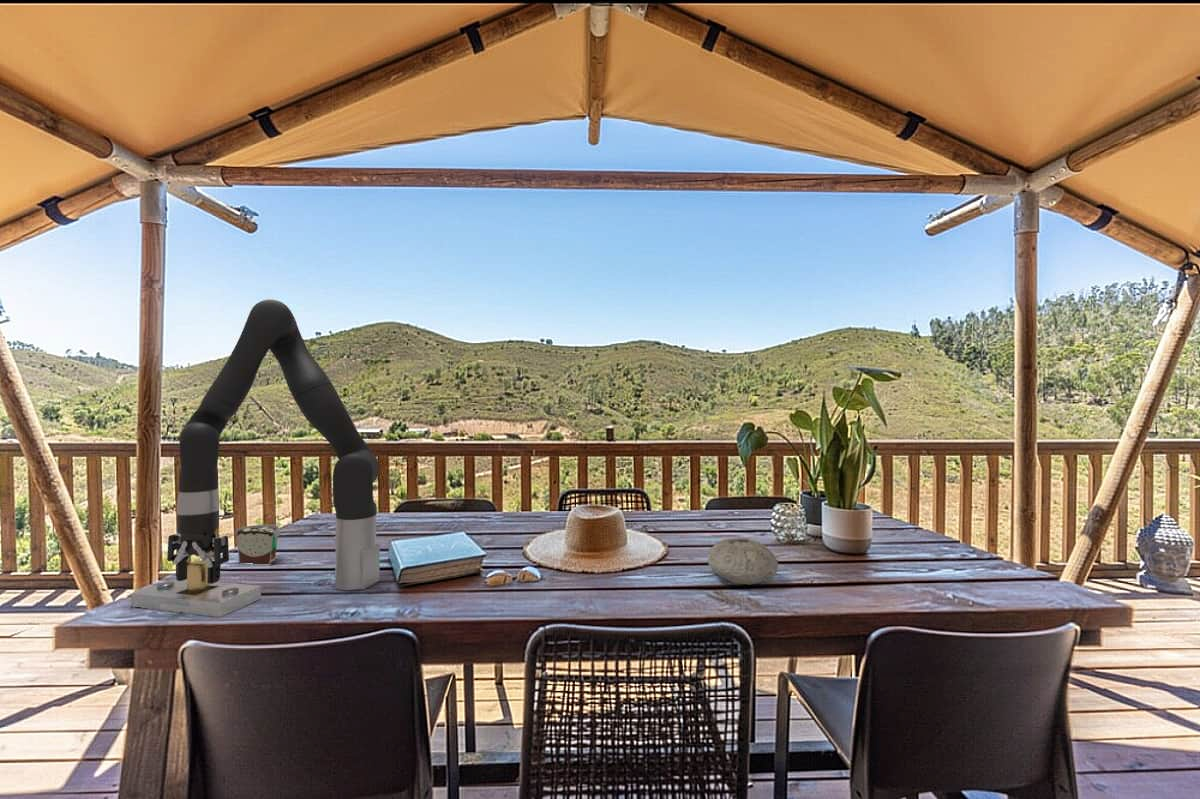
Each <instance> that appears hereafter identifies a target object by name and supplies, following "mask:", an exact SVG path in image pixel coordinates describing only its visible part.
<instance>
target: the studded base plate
mask: <svg viewBox="0 0 1200 799" xmlns="http://www.w3.org/2000/svg"><path fill="white" fill-rule="evenodd" d="M258 599H260V600H262V586H261V585H253V584H242V583H233V582H232V583H231V582H221V581H218V582H215V583H213V584H209V590H208V591H206V592H203V593H200V594H198V595H187V579H186V580H183V581H177V580H176V578H173V579H171V580H167V581H165V582H161V583H158V584H156V585H153V586H149V587H147V588H144V589H141V590H138V591H134V592H131V593H130V607H131V606H133V607H132V608H135V607H141V608H140V609H143V608H147V609H146V610H152V609H156V610H155V611H161V610H164V611H163V612H170V611H175V612H174V613H179V612H183V613H182V614H188V613H190V614H191V615H199V616H207V617H208V616H209V617H214V618H215V617H216V618H221V617H223V616H226V615H228V614H230V613H232V612H235V611H238V610H240V609H241V608H244V607H247V606H248V605H250V603H251V604H253V603H255V602H257V601H256V600H258ZM254 601H255V602H254ZM258 601H259V600H258ZM252 602H253V603H252Z"/></svg>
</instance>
